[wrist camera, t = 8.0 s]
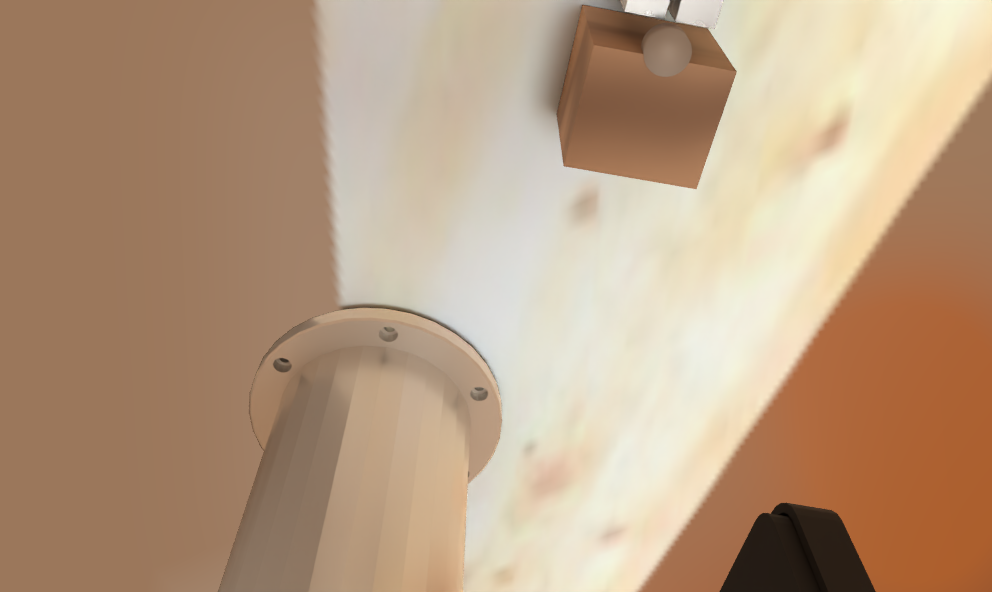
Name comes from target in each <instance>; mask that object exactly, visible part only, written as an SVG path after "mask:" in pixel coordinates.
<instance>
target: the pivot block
mask: <svg viewBox="0 0 992 592" xmlns="http://www.w3.org/2000/svg"><path fill="white" fill-rule="evenodd" d="M736 72H737V71H736V70H735V68H734V67H733V66H732V64H731V63H730V61H729V60H728V58H727V57H726V55H725V54H724V52H723V51H722V49H721V48H720V46H719V45H718V43H717V42H716V40H715V39H714V37H713V36H712V34H711V33H710V31H709V30H708V29H706V28H701V27H696V26H691V25H685V24H680V23H675V22H670V21H665V20H659V19H654V18H649V17H644V16H639V15H633V14H628V13H623V12H618V11H612V10H607V9H602V8H597V7H592V6H586V5H582V9H581V13H580V17H579V21H578V26H577V30H576V34H575V38H574V43H573V47H572V51H571V55H570V60H569V64H568V68H567V72H566V77H565V81H564V85H563V89H562V94H561V98H560V102H559V107H558V111H557V121H558V128H559V135H560V142H561V150H562V157H563V164H564V166H566V167H572V168H578V169H583V170H589V171H595V172H601V173H606V174H612V175H618V176H624V177H629V178H635V179H641V180H647V181H653V182H658V183H664V184H670V185H676V186H681V187H687V188H693V189H696V188H697V185H698V182H699V180H700V177H701V174H702V171H703V168H704V165H705V162H706V159H707V156H708V153H709V151H710V148H711V145H712V142H713V139H714V136H715V133H716V130H717V127H718V124H719V122H720V119H721V116H722V113H723V110H724V107H725V104H726V101H727V98H728V95H729V93H730V90H731V87H732V84H733V81H734V78H735V75H736Z"/></svg>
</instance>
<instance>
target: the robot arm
mask: <svg viewBox="0 0 992 592" xmlns="http://www.w3.org/2000/svg"><path fill="white" fill-rule="evenodd" d="M249 414H250V419H251V423H252V428H253V431H254V433H255V435H256V438H257V440H258V442H259V444H260V446H261V448H262V449H263V450H264V454H263V457H262V459H261V462H260V466H259V468H258V472H257V475H256V478H255V481H254V484H253V487H252V490H251V493H250V496H249V499H248V502H247V505H246V508H245V511H244V514H243V517H242V521H241V523H240V526H239V529H238V532H237V535H236V539H235V542H234V545H233V548H232V551H231V554H230V557H229V560H228V563H227V566H226V569H225V572H224V575H223V578H222V581H221V584H220V587H219V590H218V592H463V573H464V551H465V530H466V508H467V487H468V483H470V482H471V481H472V480H473V479H474V478H475V477H476V476H477V475H478V474H479V473H480V472H481V471H482V470H483V469H484V468H485V466H486V465H487V463H488V462H489V461H490V459H491V458H492V456H493V454H494V452H495V449H496V447H497V444H498V441H499V439H500V432H501V423H502V410H501V398H500V394H499V390H498V386H497V383H496V381H495V379H494V377H493V375H492V373H491V371H490V369H489V367H488V365H487V364H486V363H485V362H484V360H483V359H482V358H481V357H480V356H479V354H478V353H477V352H476V351H475V350H474V348H472V347H471V346H470V345H469V344H467V343H466V342H465V341H464V340H463V339H461V338H460V337H459V336H458V335H456V334H455V333H453V332H451V331H450V330H448V329H446V328H444V327H443V326H441V325H439V324H437V323H435V322H433V321H430V320H428V319H425V318H422V317H419V316H417V315H414V314H411V313H406V312H401V311H395V310H390V309H382V308H354V309H346V310H338V311H333V312H330V313H327V314H323V315H320V316H317V317H313V318H311V319H309V320H307V321H305V322H303V323H301V324H299V325H297V326H295V327H293V328H292V329H291V330H289V331H288V332H287V333H286V334H284V335H283V336H282V337H281V338H279V339H278V340H277V341H276V342H275V343H274V344H273V346H272V347H271V348H270V349H269V351H268V352H267V353H266V355H265V356H264V357H263V359H262V361H261V364H260V366H259V368H258V370H257V373H256V375H255V378H254V381H253V384H252V388H251V391H250V401H249ZM720 592H875V590H874V587H873V585H872V583H871V581H870V579H869V577H868V575H867V573H866V570H865V568H864V566H863V564H862V562H861V560H860V558H859V555H858V554H857V551H856V549H855V547H854V545H853V543H852V541H851V539H850V536H849V534H848V532H847V530H846V528H845V526H844V524H843V522H842V520H841V519H840V517H839V516H838V514H837V513H835V512H833V511H832V510H826V509H821V508H814V507H808V506H802V505H796V504H790V503H780V504H779V505H777V506H776V507H775V508H774V510H773V511H772V513H771V514H769V513H762V514H761V515H759V516H758V518H757V519H756V521H755V523H754V525H753V527H752V529H751V531H750V533H749V535H748V537H747V539H746V540H745V543H744V545H743V546H742V548H741V550H740V552H739V554H738V556H737V558H736V560H735V562H734V564H733V566H732V568H731V570H730V572H729V574H728V576H727V578H726V580H725V582H724V584H723V586H722V588H721V590H720Z"/></svg>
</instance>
